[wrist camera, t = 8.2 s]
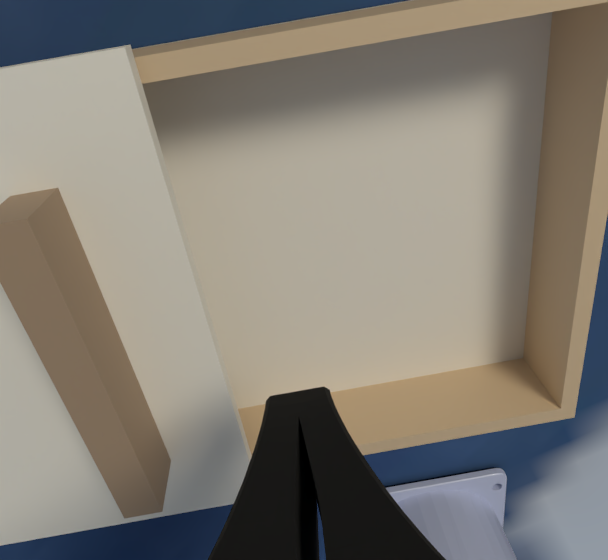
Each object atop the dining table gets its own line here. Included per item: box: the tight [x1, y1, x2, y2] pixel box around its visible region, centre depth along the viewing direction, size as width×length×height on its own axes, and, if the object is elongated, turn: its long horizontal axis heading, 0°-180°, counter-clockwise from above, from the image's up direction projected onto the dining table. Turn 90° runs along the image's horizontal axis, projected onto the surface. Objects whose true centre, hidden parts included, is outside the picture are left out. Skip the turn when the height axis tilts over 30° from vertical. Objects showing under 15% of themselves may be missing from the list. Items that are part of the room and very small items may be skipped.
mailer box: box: [132, 0, 608, 455], centre depth 17 cm, size 15×20×4 cm
